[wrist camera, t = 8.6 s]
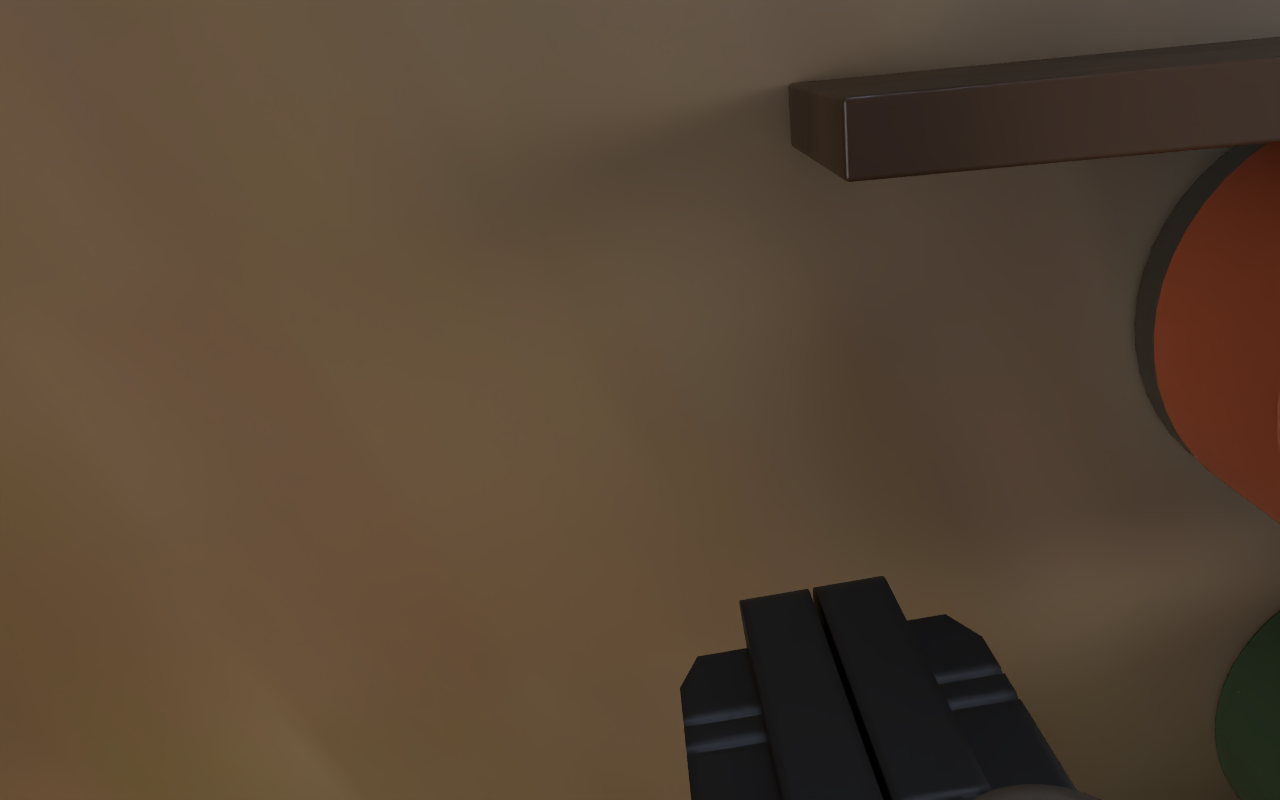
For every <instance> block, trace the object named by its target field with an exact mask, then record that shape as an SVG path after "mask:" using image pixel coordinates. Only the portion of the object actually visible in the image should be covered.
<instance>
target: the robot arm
mask: <svg viewBox="0 0 1280 800" xmlns="http://www.w3.org/2000/svg"><path fill="white" fill-rule="evenodd" d="M813 601H814V603H813ZM739 602H740V609H741V616H742V622H743V628H744V634H745V640H746V645H747V648H745V649H740V650H734V651H728V652H722V653H716V654H710V655H704V656H698V657H697V659H696V660H695V662H694V664H693V666H692V668H691V669H690V671H689V673H688V675H687V677H686V678H685V680H684V682H683V684H682V686H681V687H680V692H681V702H682V712H683V721H684V731H685V741H686V750H687V761H688V771H689V781H690V791H691V800H1100V799H1098V798H1096V797H1094V796H1091V795H1089V794H1086V793H1084V792H1081V791H1077V790H1076V789H1075V787H1074V785H1073V784H1072V782H1071V781H1070V779H1069V777H1068V776H1067V774H1066V772H1065V771H1064V769H1063V768H1062V766H1061V764H1060V763H1059V761H1058V759H1057V758H1056V756H1055V755H1054V753H1053V751H1052V750H1051V748H1050V746H1049V745H1048V743H1047V742H1046V740H1045V738H1044V737H1043V735H1042V733H1041V732H1040V730H1039V729H1038V727H1037V725H1036V724H1035V722H1034V720H1033V719H1032V717H1031V716H1030V714H1029V712H1028V711H1027V709H1026V707H1025V706H1024V704H1023V703H1022V701H1021V699H1019V700H1018V698H1017V693H1016V691H1015V690H1014V688H1013V686H1012V685H1011V683H1010V681H1009V680H1008V678H1007V677H1006V675H1005V673H1004V674H1002V671H1001V667H1000V665H999V664H998V662H997V660H996V659H995V657H994V655H993V654H992V652H991V651H990V649H989V647H988V646H987V644H986V642H985V641H984V639H983V638H982V636H980V635H978V634H977V633H975V632H973V631H972V630H970V629H969V628H967V627H965V626H964V625H962V624H960V623H959V622H957V621H956V620H954V619H952V618H951V617H949V616H947V615H946V614H944V615H938V616H932V617H926V618H921V619H915V620H909V621H907V620H906V618H905V616H904V614H903V612H902V610H901V608H900V606H899V604H898V602H897V600H896V598H895V596H894V594H893V592H892V590H891V588H890V586H889V584H888V582H887V581H886V579H885V578H884V576H879V577H873V578H867V579H861V580H855V581H850V582H844V583H838V584H832V585H826V586H820V587H815V588H813V600H812V597H811V594H810V592H809V590H808V589H804V590H798V591H793V592H787V593H781V594H775V595H769V596H763V597H758V598H752V599H746V600H740V601H739Z"/></svg>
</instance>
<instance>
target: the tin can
mask: <svg viewBox="0 0 1280 800" xmlns="http://www.w3.org/2000/svg"><path fill="white" fill-rule="evenodd" d="M1135 349H1136V355H1137V360H1138V366H1139V372H1140V375H1141V378H1142V381H1143V384H1144V387H1145V390H1146V393H1147V396H1148V398H1149V400H1150V402H1151V404H1152V406H1153V408H1154V410H1155V412H1156V414H1157V416H1158V417H1159V419H1160V420H1161V421H1162V423H1163V424H1164V426H1165V427H1166V428H1167V430H1168V431H1169V433H1170V434H1171V435H1172V436H1173V437H1174V438H1175V439H1176V440H1177V441H1178V442H1179V443H1180V444H1181V445H1182V446H1183V447H1184V448H1185V449H1186V450H1187V451H1188V452H1189V453H1190V454H1192V455H1193V456H1194V457H1196V458H1197V459H1198V460H1199V461H1200V462H1201V463H1202V464H1203V465H1204V467H1205V468H1206V469H1207V470H1208V471H1210V472H1211V473H1212V474H1214V475H1215V476H1216V477H1218V478H1219V479H1220V480H1222V481H1223V482H1224V483H1226V484H1227V485H1228V486H1230V487H1231V488H1232V489H1234V490H1235V491H1236V492H1238V493H1239V494H1240V495H1242V496H1243V497H1244V498H1246V499H1247V500H1248V501H1250V502H1251V503H1253V504H1254V505H1255V506H1257V507H1258V508H1259V509H1261V510H1262V511H1263V512H1265V513H1266V514H1267V515H1269V516H1270V517H1271V518H1273V519H1274V520H1275V521H1277V522H1278V523H1279V524H1280V142H1271V143H1260V144H1250V145H1239V146H1234V147H1233V148H1232V149H1230V150H1229V151H1228V152H1226V153H1225V154H1223V155H1222V156H1221V157H1220V158H1219V159H1218V160H1217V161H1216V162H1215V163H1214V164H1213V165H1211V166H1210V167H1209V168H1208V169H1207V170H1206V171H1205V172H1204V173H1203V174H1202V175H1201V176H1200V177H1199V178H1198V179H1197V180H1196V181H1195V183H1194V184H1193V185H1192V186H1191V187H1190V188H1189V190H1188V191H1187V192H1186V193H1185V194H1184V196H1183V197H1182V198H1181V199H1180V201H1179V202H1178V204H1177V205H1176V207H1175V208H1174V210H1173V211H1172V213H1171V214H1170V216H1169V217H1168V219H1167V220H1166V222H1165V224H1164V225H1163V227H1162V229H1161V231H1160V233H1159V235H1158V237H1157V239H1156V241H1155V243H1154V245H1153V247H1152V250H1151V252H1150V255H1149V258H1148V260H1147V263H1146V266H1145V268H1144V271H1143V275H1142V279H1141V284H1140V288H1139V292H1138V296H1137V305H1136V314H1135Z"/></svg>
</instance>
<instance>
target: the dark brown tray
mask: <svg viewBox="0 0 1280 800" xmlns="http://www.w3.org/2000/svg"><path fill="white" fill-rule="evenodd" d="M789 107H790V127H791V144H792V146H793V147H795V148H796V149H798V150H799V151H801V152H803V153H804V154H806V155H807V156H809V157H810V158H812V159H813V160H815V161H816V162H818V163H820V164H821V165H823V166H824V167H826V168H827V169H829V170H830V171H832V172H834V173H835V174H837V175H838V176H840V177H841V178H843V179H844V180H846V181H849V182H852V181H863V180H874V179H885V178H895V177H906V176H917V175H927V174H938V173H949V172H960V171H970V170H981V169H992V168H1003V167H1013V166H1024V165H1035V164H1046V163H1056V162H1067V161H1078V160H1089V159H1099V158H1110V157H1121V156H1132V155H1142V154H1153V153H1164V152H1174V151H1185V150H1196V149H1207V148H1217V147H1228V146H1239V145H1250V144H1260V143H1271V142H1280V37H1273V38H1263V39H1252V40H1242V41H1231V42H1221V43H1210V44H1200V45H1189V46H1179V47H1168V48H1157V49H1147V50H1136V51H1126V52H1115V53H1105V54H1094V55H1084V56H1073V57H1063V58H1052V59H1042V60H1031V61H1021V62H1010V63H1000V64H989V65H979V66H968V67H958V68H947V69H937V70H926V71H916V72H905V73H895V74H884V75H874V76H863V77H853V78H842V79H832V80H821V81H811V82H800V83H792V84H790V85H789Z"/></svg>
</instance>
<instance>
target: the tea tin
mask: <svg viewBox="0 0 1280 800" xmlns="http://www.w3.org/2000/svg"><path fill="white" fill-rule="evenodd" d="M1215 739H1216V746H1217V752H1218V758H1219V761H1220V764H1221V767H1222V770H1223V772H1224V775H1225V777H1226V778H1227V780H1228V782H1229V784H1230V786H1231V788H1232V789H1233V791H1234V792H1235V793H1236V794H1237V796H1238V797H1239V798H1240V800H1280V611H1279V612H1278V613H1277V614H1276V615H1274V616H1273V617H1272V618H1271V619H1269V620H1268V621H1267V622H1266V623H1265V624H1264V625H1263V626H1262V627H1261V628H1260V629H1259V630H1258V632H1257V633H1256V634H1255V635H1254V636H1253V637H1252V638H1251V640H1250V641H1249V642H1248V643H1247V645H1246V646H1245V647H1244V648H1243V650H1242V651H1241V653H1240V654H1239V656H1238V658H1237V659H1236V661H1235V663H1234V664H1233V666H1232V667H1231V669H1230V672H1229V674H1228V676H1227V678H1226V681H1225V683H1224V685H1223V688H1222V692H1221V695H1220V698H1219V702H1218V707H1217V714H1216V721H1215Z"/></svg>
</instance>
